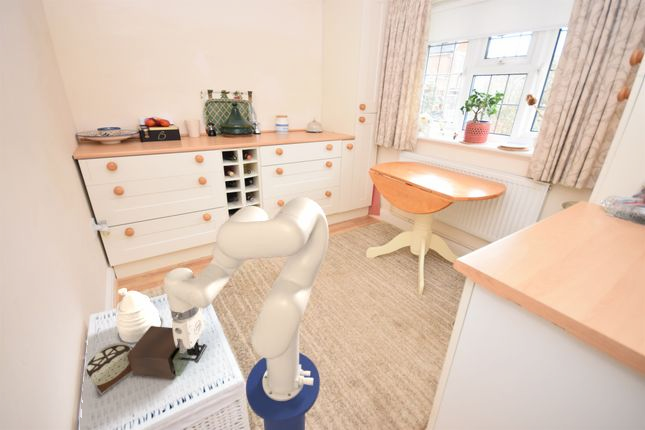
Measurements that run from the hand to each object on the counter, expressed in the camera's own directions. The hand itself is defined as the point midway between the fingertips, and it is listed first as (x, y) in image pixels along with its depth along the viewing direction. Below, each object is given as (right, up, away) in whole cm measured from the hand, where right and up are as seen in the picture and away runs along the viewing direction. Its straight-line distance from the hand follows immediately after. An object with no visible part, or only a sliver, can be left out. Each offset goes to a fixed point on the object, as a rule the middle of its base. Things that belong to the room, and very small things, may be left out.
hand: (193, 353), depth 92 cm
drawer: (-6, -3, +2) cm, 7 cm away
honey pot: (-26, +2, +15) cm, 30 cm away
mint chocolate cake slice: (-23, -6, -3) cm, 24 cm away
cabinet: (-11, -4, +3) cm, 12 cm away
